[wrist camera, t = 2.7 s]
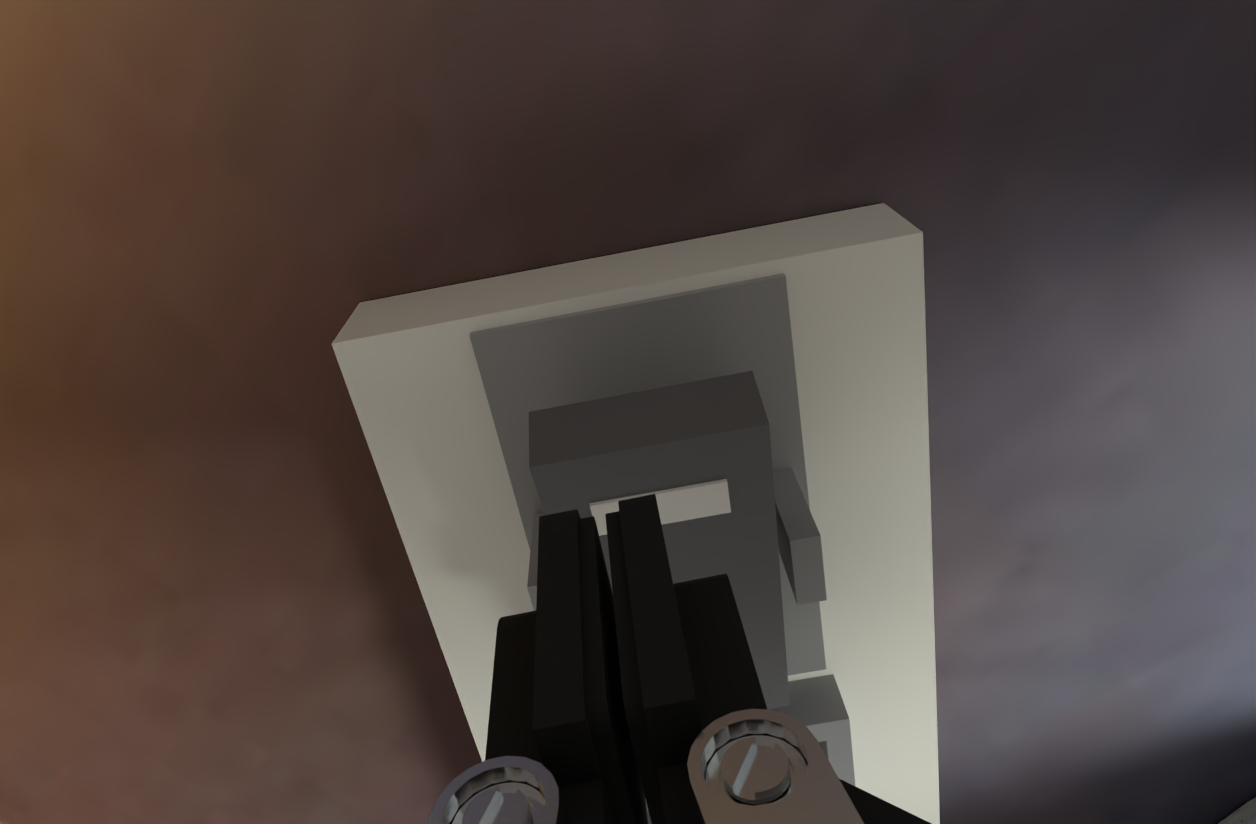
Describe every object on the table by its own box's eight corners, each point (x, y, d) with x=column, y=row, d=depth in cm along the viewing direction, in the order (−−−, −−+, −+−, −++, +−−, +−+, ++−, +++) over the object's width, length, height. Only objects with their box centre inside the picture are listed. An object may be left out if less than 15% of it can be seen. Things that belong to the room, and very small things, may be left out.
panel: (883, 202, 19) (980, 275, 15) (921, 973, 32) (979, 1144, 28) (359, 302, 20) (290, 404, 15) (602, 1023, 33) (606, 1200, 28)
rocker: (752, 370, 15) (770, 426, 14) (776, 653, 21) (790, 708, 20) (528, 412, 15) (529, 470, 14) (614, 681, 21) (619, 737, 20)
